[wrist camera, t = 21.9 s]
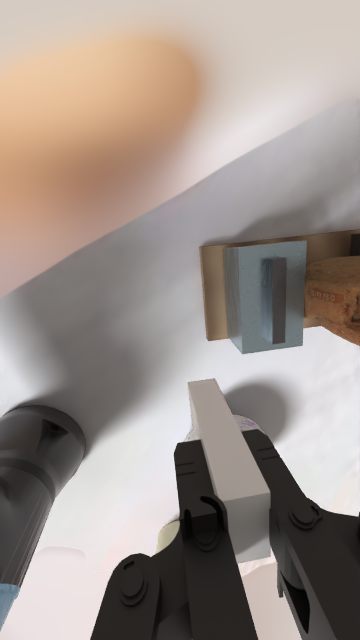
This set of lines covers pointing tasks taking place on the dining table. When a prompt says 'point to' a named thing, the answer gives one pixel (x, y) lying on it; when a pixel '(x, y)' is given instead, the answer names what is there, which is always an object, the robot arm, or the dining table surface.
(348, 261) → the block
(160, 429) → the dining table surface
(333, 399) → the dining table surface
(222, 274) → the vise base
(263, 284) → the block
